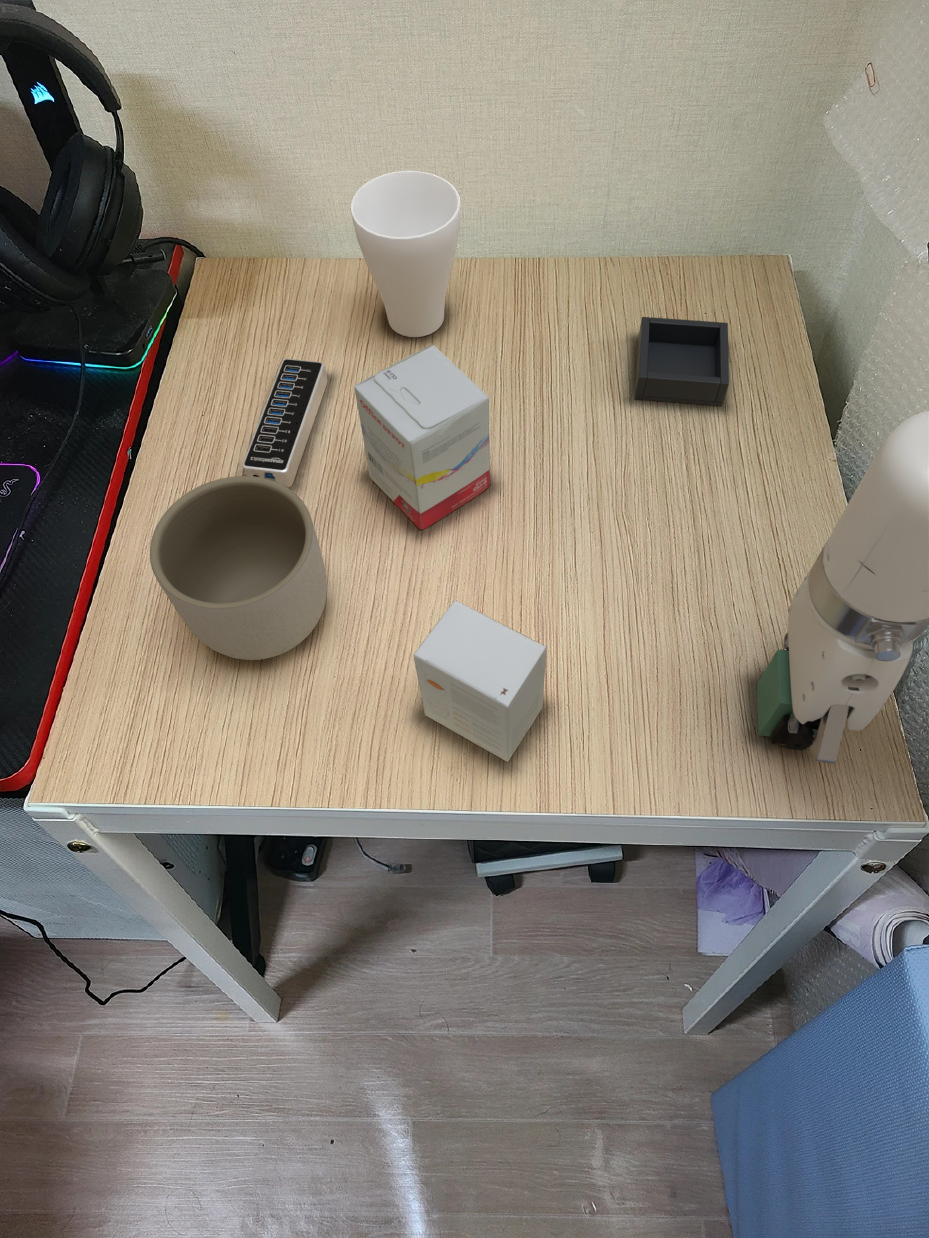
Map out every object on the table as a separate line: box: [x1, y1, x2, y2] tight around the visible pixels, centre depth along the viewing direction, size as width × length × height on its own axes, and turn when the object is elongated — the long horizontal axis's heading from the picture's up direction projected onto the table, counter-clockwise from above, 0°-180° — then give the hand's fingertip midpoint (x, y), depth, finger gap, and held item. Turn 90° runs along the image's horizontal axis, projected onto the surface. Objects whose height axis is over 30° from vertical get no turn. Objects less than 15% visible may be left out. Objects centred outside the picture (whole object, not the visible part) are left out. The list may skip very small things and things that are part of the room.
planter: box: [149, 475, 328, 661], centre depth 71 cm, size 12×12×11 cm
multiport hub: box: [242, 358, 329, 489], centre depth 85 cm, size 4×14×2 cm, turn 170°
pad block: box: [756, 649, 793, 737], centre depth 67 cm, size 4×4×6 cm
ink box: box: [353, 344, 491, 530], centre depth 77 cm, size 9×9×12 cm
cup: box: [349, 170, 462, 338], centre depth 88 cm, size 10×10×14 cm
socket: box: [634, 316, 730, 407], centre depth 87 cm, size 9×9×3 cm
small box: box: [413, 599, 547, 763], centre depth 65 cm, size 8×6×10 cm
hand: (789, 708), depth 69 cm, fingers open, 4 cm apart
